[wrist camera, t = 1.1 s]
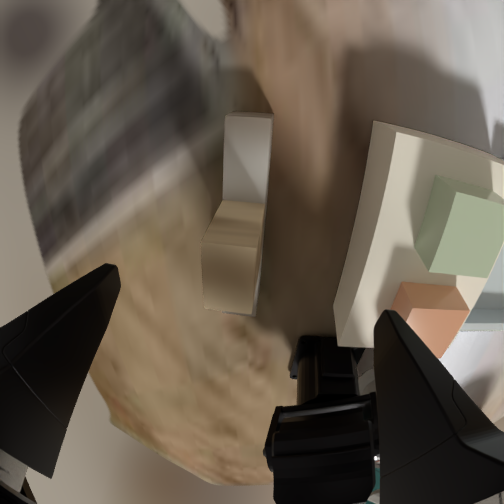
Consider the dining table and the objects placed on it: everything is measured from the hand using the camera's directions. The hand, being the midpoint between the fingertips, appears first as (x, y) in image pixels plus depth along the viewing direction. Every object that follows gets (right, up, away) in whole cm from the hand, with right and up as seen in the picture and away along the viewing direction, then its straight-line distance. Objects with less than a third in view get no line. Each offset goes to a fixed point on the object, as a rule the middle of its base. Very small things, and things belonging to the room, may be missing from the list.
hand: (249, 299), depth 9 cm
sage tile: (+12, +3, +5) cm, 13 cm away
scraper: (0, +4, +12) cm, 13 cm away
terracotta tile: (+12, -2, +9) cm, 15 cm away
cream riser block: (+12, +3, +11) cm, 16 cm away
